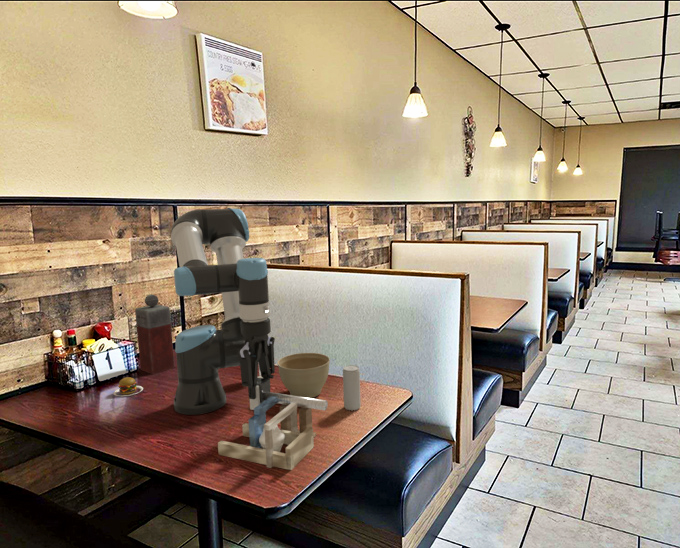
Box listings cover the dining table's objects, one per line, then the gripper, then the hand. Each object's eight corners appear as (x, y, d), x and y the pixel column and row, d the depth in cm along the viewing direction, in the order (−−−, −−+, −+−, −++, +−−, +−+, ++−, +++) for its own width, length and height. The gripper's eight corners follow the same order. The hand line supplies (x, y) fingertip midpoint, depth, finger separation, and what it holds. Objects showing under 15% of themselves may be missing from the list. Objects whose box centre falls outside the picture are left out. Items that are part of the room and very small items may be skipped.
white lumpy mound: (279, 459, 112) (275, 430, 111) (256, 457, 114) (252, 428, 113) (290, 446, 117) (287, 418, 117) (268, 444, 120) (265, 417, 119)
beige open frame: (216, 456, 115) (213, 415, 113) (247, 432, 126) (245, 395, 125) (289, 472, 107) (287, 428, 105) (315, 445, 118) (313, 406, 117)
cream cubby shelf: (277, 436, 123) (276, 407, 122) (285, 430, 127) (284, 401, 126) (308, 442, 120) (307, 412, 119) (316, 435, 123) (314, 405, 122)
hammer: (228, 446, 118) (225, 396, 116) (259, 423, 130) (256, 377, 128) (305, 462, 109) (302, 408, 108) (330, 435, 122) (328, 386, 120)
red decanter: (159, 362, 188) (153, 291, 184) (175, 367, 181) (168, 293, 177) (137, 368, 181) (130, 295, 177) (152, 374, 174) (145, 297, 170)
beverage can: (359, 411, 137) (358, 370, 135) (342, 410, 138) (341, 370, 136) (361, 404, 141) (360, 365, 140) (345, 404, 142) (344, 364, 141)
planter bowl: (290, 382, 161) (288, 351, 160) (336, 386, 157) (335, 353, 155) (270, 401, 146) (268, 367, 144) (321, 406, 141) (320, 370, 140)
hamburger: (148, 384, 165) (147, 369, 165) (147, 397, 154) (146, 380, 153) (110, 390, 161) (108, 374, 161) (106, 403, 150) (104, 386, 149)
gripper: (247, 327, 114) (253, 421, 117) (285, 312, 129) (289, 395, 133) (221, 325, 117) (228, 417, 120) (261, 310, 133) (266, 392, 136)
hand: (260, 405), depth 126 cm, fingers closed on hammer, 4 cm apart
